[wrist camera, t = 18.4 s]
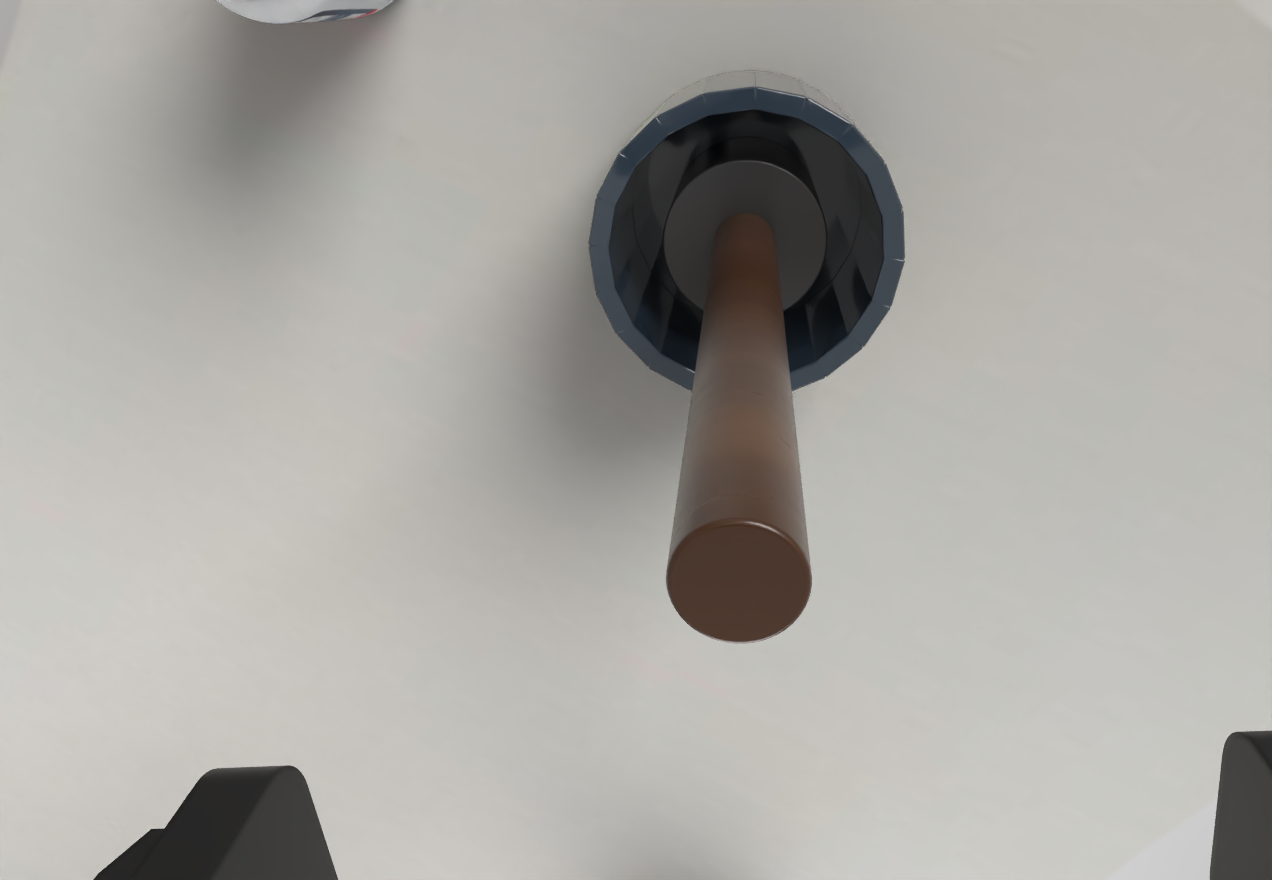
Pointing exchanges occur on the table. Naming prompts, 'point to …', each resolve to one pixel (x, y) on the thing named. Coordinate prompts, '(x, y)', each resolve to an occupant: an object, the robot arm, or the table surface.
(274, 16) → the pill bottle
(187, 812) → the robot arm
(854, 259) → the gray open cylinder
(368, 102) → the table surface
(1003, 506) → the table surface
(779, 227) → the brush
